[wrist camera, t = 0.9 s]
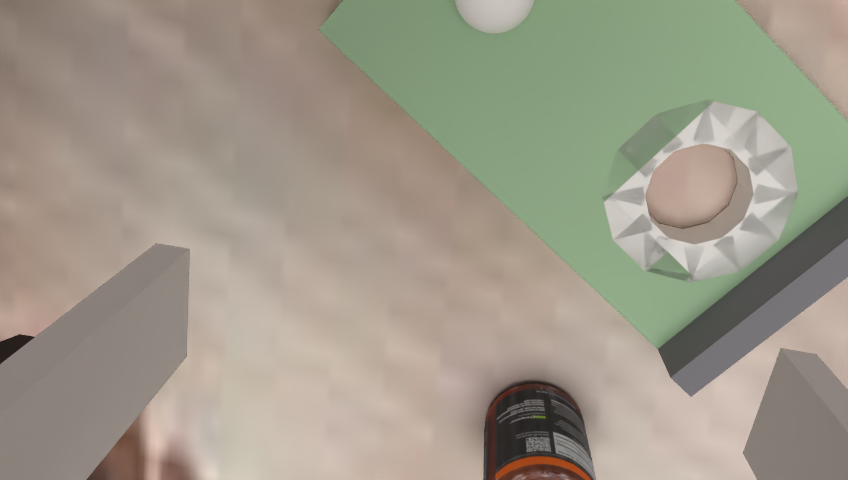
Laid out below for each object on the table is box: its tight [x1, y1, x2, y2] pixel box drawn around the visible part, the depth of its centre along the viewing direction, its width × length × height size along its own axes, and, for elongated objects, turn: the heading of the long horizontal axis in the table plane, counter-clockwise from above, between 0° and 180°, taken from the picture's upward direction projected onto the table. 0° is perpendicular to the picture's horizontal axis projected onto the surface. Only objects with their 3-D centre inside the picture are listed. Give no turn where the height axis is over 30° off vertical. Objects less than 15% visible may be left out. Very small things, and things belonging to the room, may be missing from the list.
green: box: [319, 0, 848, 396], centre depth 34 cm, size 26×14×6 cm, turn 48°
